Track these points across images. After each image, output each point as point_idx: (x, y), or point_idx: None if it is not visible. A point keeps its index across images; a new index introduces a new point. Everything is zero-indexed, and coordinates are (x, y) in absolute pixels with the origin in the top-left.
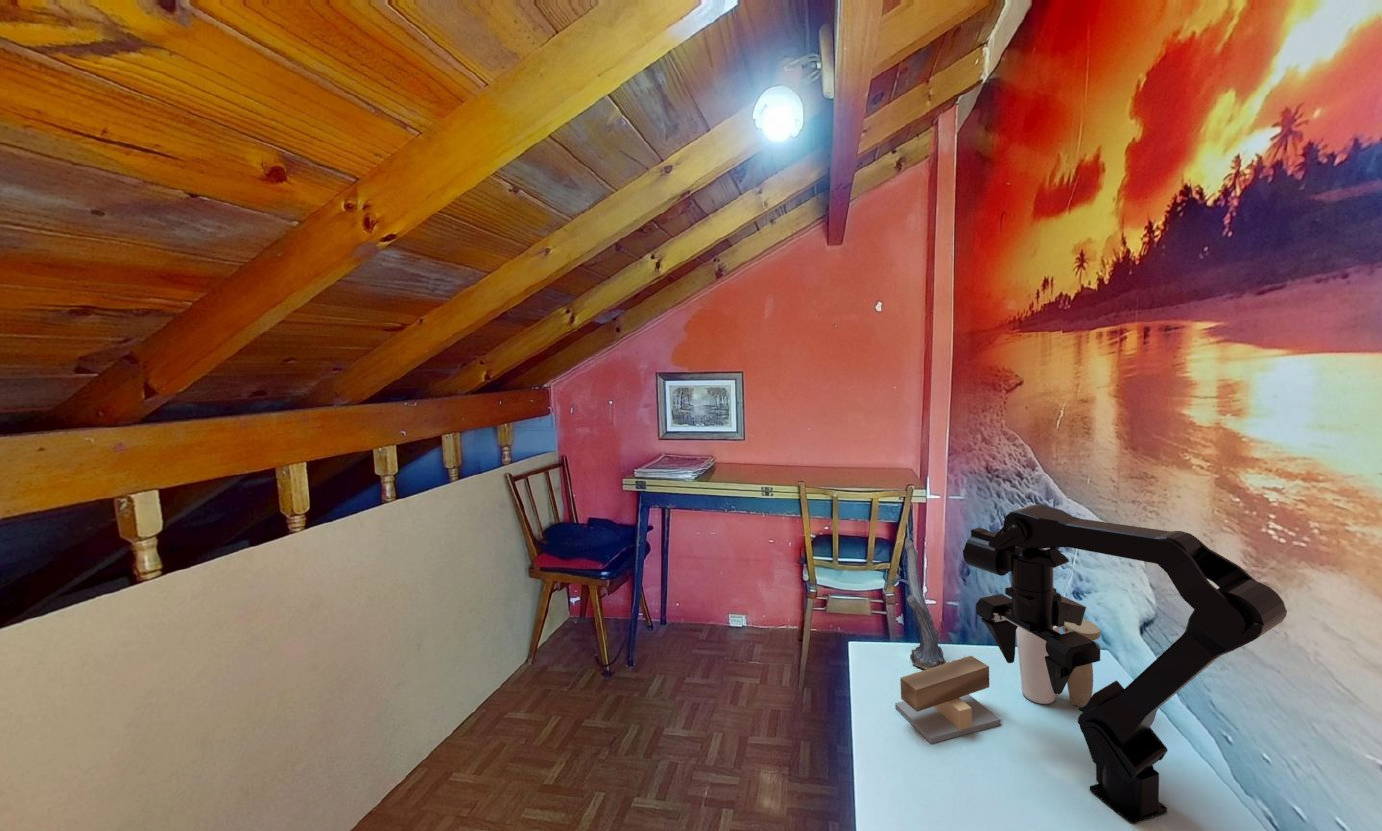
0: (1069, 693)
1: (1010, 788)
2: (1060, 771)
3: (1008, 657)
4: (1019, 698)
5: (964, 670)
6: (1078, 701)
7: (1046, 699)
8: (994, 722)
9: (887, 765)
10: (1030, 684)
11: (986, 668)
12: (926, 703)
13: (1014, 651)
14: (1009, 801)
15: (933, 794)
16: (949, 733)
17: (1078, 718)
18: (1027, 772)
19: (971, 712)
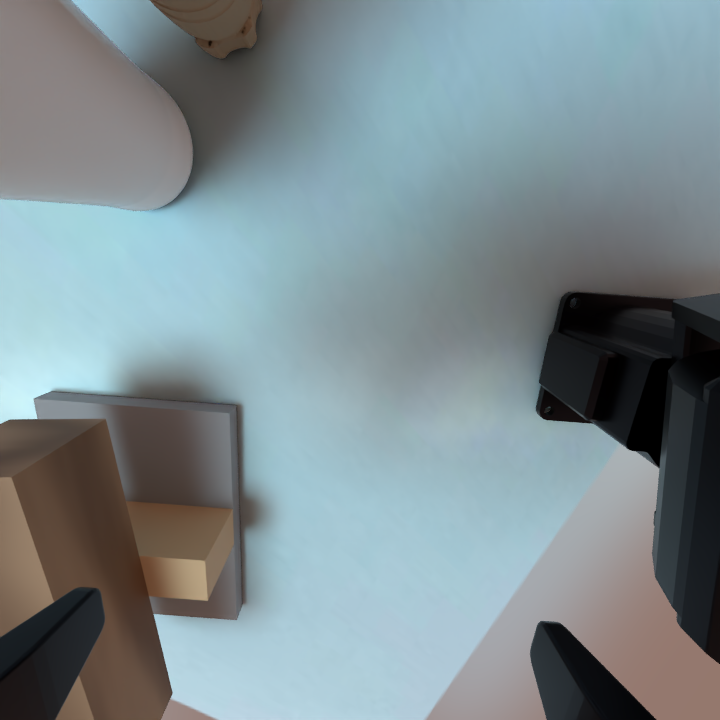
0: (188, 33)
1: (435, 558)
2: (452, 416)
3: (62, 684)
4: (131, 230)
5: (27, 597)
6: (237, 38)
7: (184, 167)
8: (231, 432)
9: (271, 705)
10: (111, 201)
11: (24, 487)
12: (155, 687)
13: (3, 689)
14: (461, 585)
15: (376, 684)
16: (235, 571)
17: (711, 657)
18: (415, 489)
19: (212, 547)
